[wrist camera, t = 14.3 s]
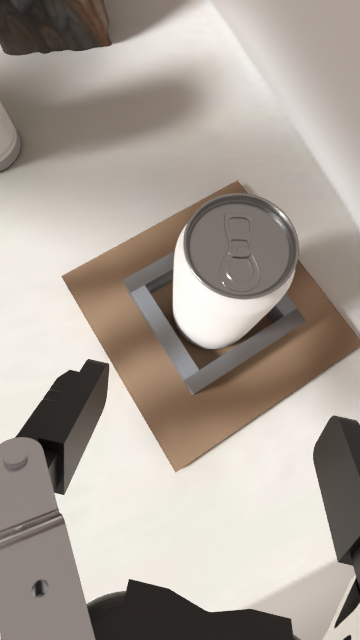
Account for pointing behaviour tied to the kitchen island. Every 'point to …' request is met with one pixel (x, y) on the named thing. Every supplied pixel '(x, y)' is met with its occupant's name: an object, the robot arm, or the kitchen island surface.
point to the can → (231, 268)
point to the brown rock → (52, 25)
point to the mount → (195, 362)
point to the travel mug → (8, 140)
